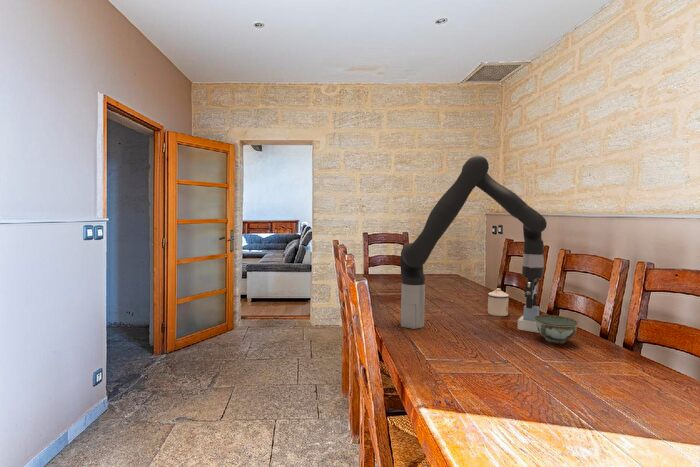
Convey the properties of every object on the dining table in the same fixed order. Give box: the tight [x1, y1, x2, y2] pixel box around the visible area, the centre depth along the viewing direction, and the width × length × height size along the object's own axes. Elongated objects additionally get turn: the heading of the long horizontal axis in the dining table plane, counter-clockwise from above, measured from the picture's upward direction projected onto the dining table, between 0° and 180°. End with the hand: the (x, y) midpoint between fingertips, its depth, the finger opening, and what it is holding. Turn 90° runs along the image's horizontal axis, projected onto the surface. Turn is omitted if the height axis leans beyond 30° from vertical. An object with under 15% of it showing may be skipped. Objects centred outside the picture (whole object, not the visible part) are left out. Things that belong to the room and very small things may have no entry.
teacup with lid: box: [487, 287, 510, 317], centre depth 176 cm, size 12×9×12 cm
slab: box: [517, 315, 540, 334], centre depth 153 cm, size 8×8×4 cm
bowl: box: [535, 314, 578, 345], centre depth 137 cm, size 14×13×8 cm
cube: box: [522, 304, 540, 321], centre depth 153 cm, size 5×5×5 cm
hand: (531, 306), depth 152 cm, fingers open, 8 cm apart
